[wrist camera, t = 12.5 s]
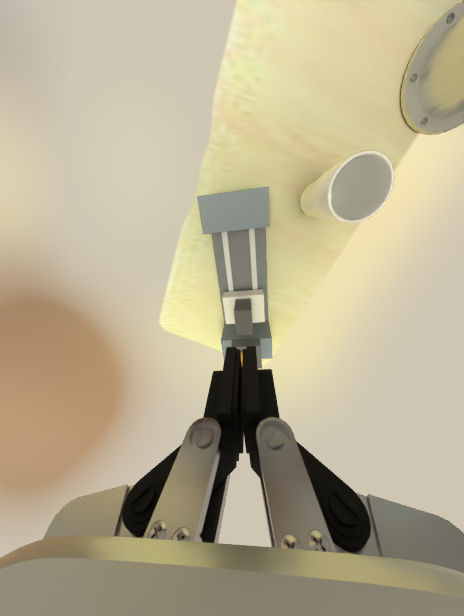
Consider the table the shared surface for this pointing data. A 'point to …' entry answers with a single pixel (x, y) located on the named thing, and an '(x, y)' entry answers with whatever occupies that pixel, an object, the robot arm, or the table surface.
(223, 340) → the rail track
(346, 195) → the drinking glass
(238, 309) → the carriage
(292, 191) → the table surface
